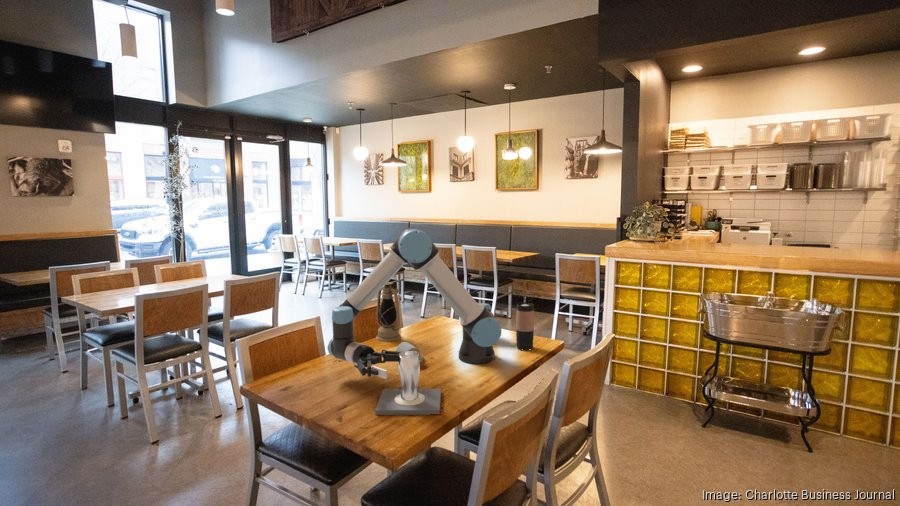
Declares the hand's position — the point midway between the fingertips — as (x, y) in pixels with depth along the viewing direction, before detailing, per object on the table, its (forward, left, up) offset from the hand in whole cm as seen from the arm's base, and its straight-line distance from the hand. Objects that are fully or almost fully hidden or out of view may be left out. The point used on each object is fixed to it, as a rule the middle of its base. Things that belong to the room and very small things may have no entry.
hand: (401, 368), depth 152 cm
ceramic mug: (+1, -37, -11) cm, 39 cm away
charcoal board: (-3, +2, -11) cm, 12 cm away
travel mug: (-49, -53, -11) cm, 73 cm away
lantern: (+14, -69, -11) cm, 72 cm away
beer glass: (-3, +2, -10) cm, 10 cm away
